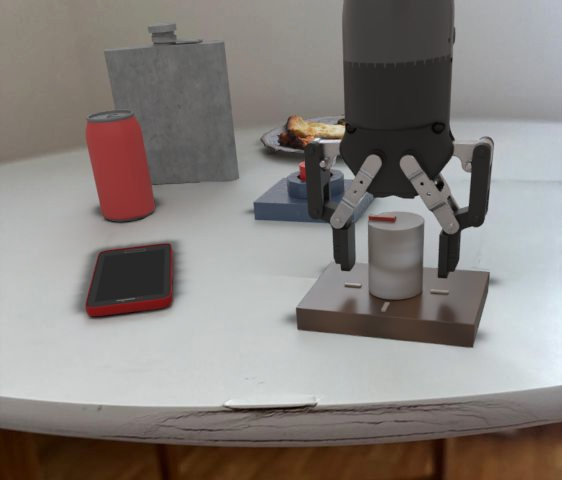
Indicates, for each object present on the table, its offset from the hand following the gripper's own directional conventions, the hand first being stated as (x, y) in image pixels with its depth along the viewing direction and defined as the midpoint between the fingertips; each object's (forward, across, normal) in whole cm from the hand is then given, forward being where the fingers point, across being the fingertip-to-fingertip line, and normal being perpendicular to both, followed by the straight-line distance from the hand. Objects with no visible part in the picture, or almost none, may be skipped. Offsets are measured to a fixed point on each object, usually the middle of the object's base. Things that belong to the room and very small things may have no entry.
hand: (395, 271), depth 56 cm
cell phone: (+4, -26, +1) cm, 26 cm away
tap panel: (+4, 0, 0) cm, 4 cm away
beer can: (+4, -38, +20) cm, 43 cm away
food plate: (+4, -21, +56) cm, 60 cm away
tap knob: (+2, 0, 0) cm, 2 cm away
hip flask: (+4, -38, +35) cm, 52 cm away
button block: (+4, -15, +25) cm, 29 cm away
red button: (0, -15, +25) cm, 29 cm away
